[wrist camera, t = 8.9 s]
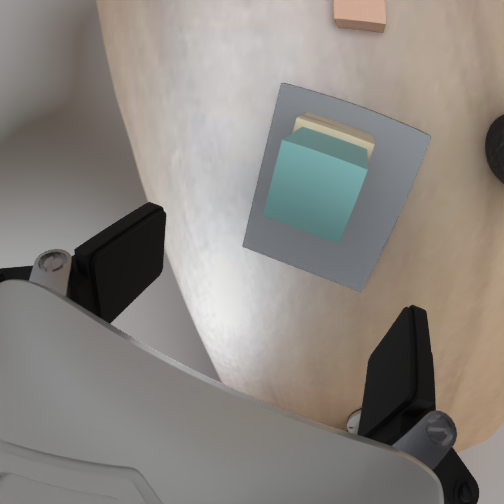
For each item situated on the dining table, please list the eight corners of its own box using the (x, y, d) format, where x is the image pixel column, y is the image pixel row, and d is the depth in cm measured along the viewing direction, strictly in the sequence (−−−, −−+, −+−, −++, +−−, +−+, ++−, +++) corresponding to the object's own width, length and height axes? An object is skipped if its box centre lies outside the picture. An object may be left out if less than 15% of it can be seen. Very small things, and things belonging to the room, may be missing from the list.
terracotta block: (337, -10, 19) (338, 27, 21) (332, -24, 16) (333, 18, 18) (381, -6, 18) (382, 32, 20) (384, -19, 14) (385, 24, 17)
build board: (360, 286, 33) (360, 291, 32) (245, 242, 36) (242, 246, 35) (429, 134, 23) (431, 136, 22) (284, 83, 25) (281, 82, 24)
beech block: (351, 194, 27) (348, 214, 23) (291, 172, 28) (277, 188, 24) (372, 134, 24) (374, 144, 20) (308, 112, 25) (296, 117, 21)
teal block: (345, 207, 23) (338, 244, 18) (285, 186, 24) (262, 215, 19) (367, 149, 20) (367, 169, 16) (302, 126, 21) (282, 139, 16)
